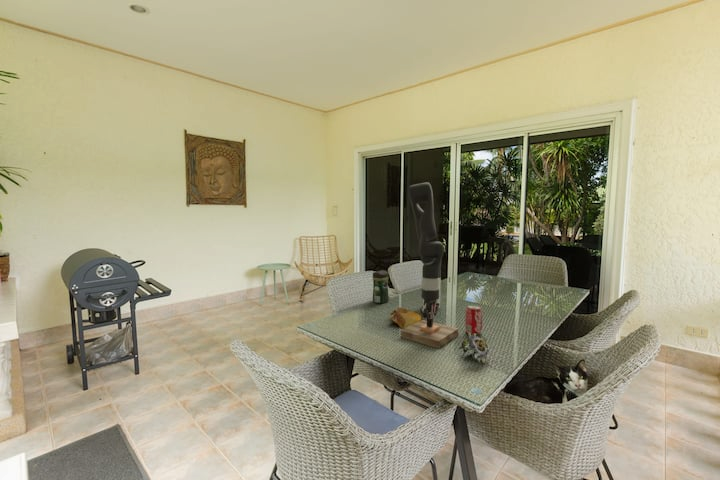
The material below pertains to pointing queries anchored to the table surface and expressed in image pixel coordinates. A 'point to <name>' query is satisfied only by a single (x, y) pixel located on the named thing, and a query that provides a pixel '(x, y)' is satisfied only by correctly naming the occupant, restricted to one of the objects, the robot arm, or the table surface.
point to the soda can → (473, 319)
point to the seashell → (404, 317)
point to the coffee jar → (380, 286)
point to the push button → (429, 328)
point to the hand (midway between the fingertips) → (429, 326)
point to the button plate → (429, 334)
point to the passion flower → (476, 347)
